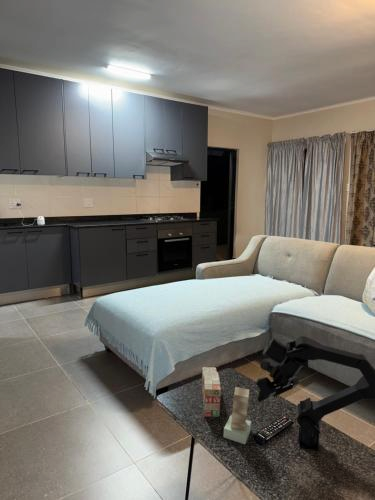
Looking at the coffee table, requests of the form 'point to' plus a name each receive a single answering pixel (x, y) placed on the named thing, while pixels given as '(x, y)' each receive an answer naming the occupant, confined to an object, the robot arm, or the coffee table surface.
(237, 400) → the maple pillar
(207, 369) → the stack of blocks
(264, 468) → the coffee table surface
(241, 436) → the sage base block
